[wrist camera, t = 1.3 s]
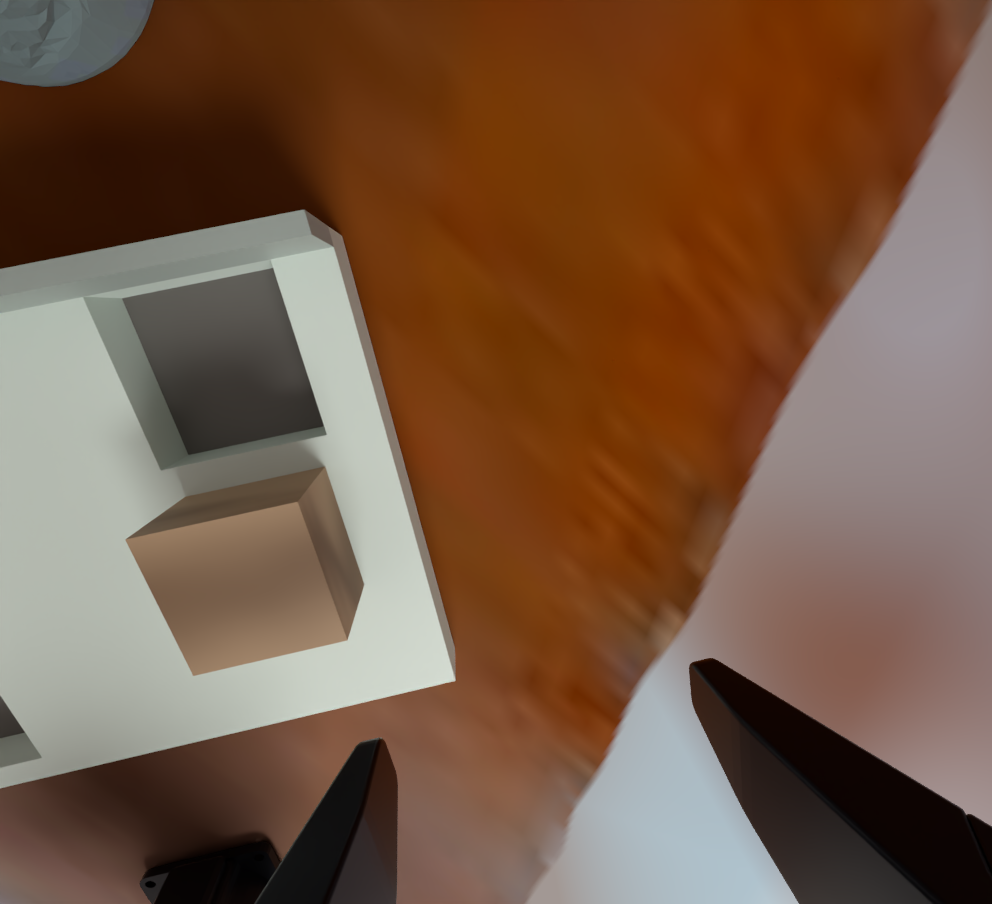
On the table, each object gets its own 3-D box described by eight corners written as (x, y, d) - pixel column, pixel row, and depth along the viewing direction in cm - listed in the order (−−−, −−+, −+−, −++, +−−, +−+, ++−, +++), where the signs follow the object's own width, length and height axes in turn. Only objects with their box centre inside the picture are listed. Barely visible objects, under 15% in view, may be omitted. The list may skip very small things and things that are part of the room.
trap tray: (454, 648, 22) (456, 731, 17) (-113, 780, 21) (-258, 902, 17) (341, 235, 16) (304, 209, 12) (-437, 390, 15) (-782, 422, 11)
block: (364, 584, 18) (347, 640, 15) (236, 613, 18) (193, 676, 15) (325, 466, 17) (297, 501, 14) (185, 497, 16) (124, 539, 13)
